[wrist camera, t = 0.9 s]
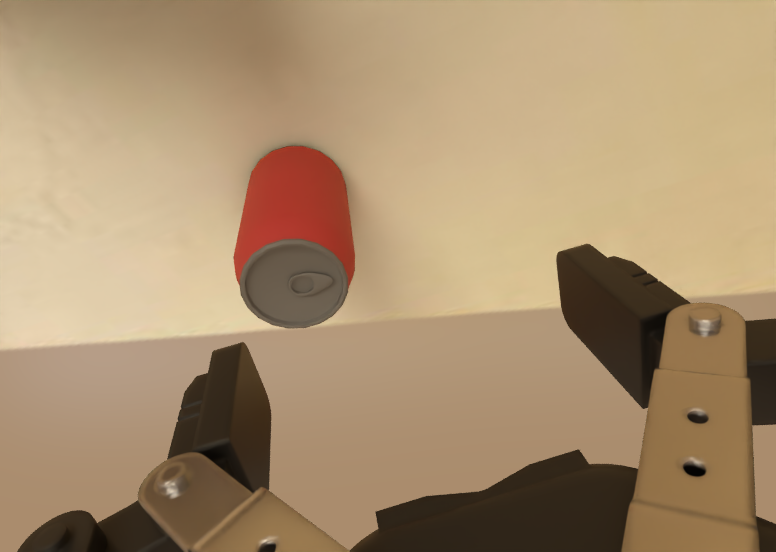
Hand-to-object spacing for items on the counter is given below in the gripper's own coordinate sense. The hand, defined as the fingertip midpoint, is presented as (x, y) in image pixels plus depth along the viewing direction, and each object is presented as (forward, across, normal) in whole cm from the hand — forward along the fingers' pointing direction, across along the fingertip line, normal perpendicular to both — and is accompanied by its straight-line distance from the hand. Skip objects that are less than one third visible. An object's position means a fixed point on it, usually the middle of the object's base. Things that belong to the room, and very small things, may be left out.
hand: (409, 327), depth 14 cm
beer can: (+27, +3, +3) cm, 27 cm away
